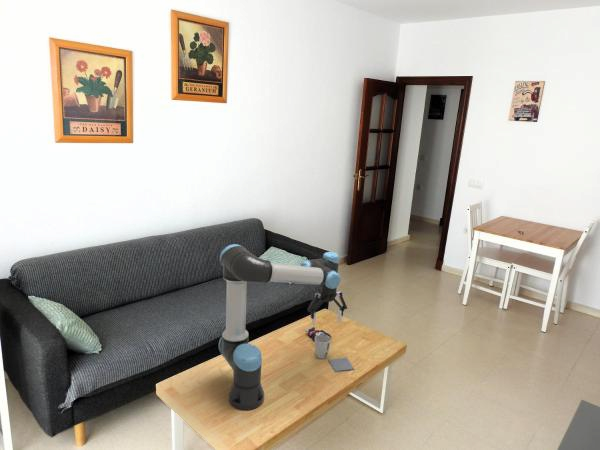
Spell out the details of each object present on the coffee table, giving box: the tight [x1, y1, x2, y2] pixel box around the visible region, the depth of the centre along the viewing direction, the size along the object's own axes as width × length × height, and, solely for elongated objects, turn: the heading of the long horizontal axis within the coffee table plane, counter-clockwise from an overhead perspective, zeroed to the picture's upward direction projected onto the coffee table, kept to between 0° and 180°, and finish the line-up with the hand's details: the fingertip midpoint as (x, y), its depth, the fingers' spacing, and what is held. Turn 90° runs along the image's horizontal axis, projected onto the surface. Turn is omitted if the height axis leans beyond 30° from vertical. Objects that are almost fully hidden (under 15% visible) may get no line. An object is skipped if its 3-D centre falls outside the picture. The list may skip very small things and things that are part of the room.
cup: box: [314, 335, 332, 360], centre depth 224 cm, size 8×8×10 cm
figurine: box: [304, 326, 332, 342], centre depth 242 cm, size 9×4×15 cm
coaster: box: [328, 357, 355, 373], centre depth 218 cm, size 10×10×1 cm
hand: (326, 322), depth 219 cm, fingers open, 13 cm apart
